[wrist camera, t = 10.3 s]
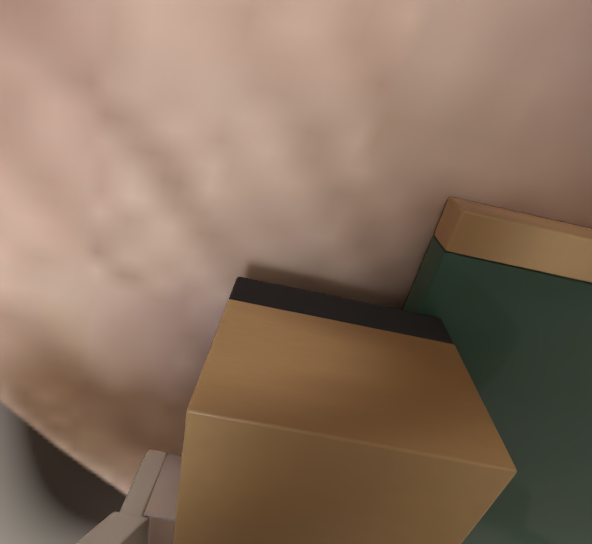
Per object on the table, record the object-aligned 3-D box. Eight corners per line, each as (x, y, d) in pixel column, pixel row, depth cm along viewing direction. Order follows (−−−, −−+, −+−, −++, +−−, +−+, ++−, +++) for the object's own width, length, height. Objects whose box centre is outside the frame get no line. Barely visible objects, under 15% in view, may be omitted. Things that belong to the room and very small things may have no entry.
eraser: (441, 317, 9) (519, 471, 6) (329, 551, 14) (333, 708, 11) (237, 274, 9) (184, 410, 5) (197, 529, 14) (158, 683, 11)
